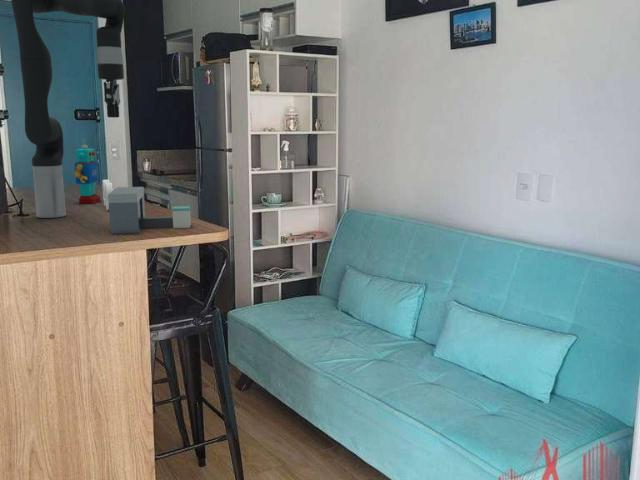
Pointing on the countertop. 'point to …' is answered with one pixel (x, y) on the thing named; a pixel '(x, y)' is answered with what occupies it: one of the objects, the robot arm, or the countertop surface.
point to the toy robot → (86, 175)
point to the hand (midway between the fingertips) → (113, 117)
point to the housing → (126, 209)
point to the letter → (106, 192)
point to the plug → (169, 219)
